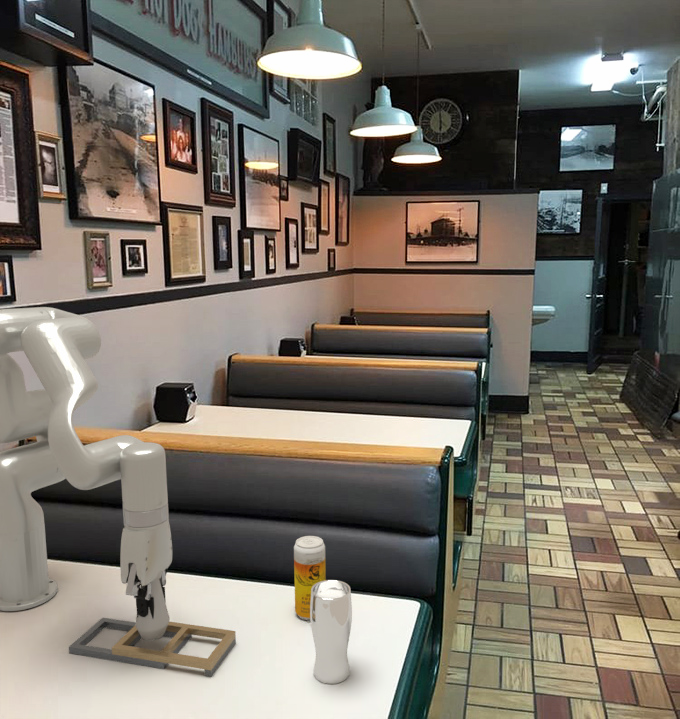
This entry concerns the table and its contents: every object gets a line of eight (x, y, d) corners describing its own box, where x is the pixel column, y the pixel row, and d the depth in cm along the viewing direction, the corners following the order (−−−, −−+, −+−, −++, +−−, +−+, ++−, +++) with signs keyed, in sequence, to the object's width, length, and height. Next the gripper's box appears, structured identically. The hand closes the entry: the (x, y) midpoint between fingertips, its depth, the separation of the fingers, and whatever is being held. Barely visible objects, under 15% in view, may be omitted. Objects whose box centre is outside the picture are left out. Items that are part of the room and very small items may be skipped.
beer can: (302, 625, 123) (301, 550, 121) (290, 610, 128) (288, 538, 126) (331, 616, 126) (330, 544, 123) (317, 602, 131) (316, 532, 129)
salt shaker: (174, 626, 118) (171, 558, 116) (163, 644, 112) (159, 573, 110) (143, 624, 118) (140, 557, 116) (130, 642, 113) (126, 572, 111)
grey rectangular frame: (69, 653, 114) (68, 646, 114) (103, 623, 124) (102, 617, 124) (164, 669, 110) (163, 662, 109) (191, 636, 119) (191, 630, 119)
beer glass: (338, 691, 104) (337, 604, 101) (302, 677, 107) (301, 592, 105) (359, 668, 109) (359, 585, 107) (325, 655, 113) (324, 575, 111)
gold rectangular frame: (112, 660, 112) (111, 647, 112) (143, 629, 122) (143, 617, 121) (211, 677, 107) (210, 663, 107) (235, 643, 117) (235, 631, 117)
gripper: (151, 496, 121) (157, 588, 123) (98, 530, 105) (105, 635, 108) (188, 499, 119) (192, 593, 122) (139, 535, 103) (145, 641, 106)
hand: (151, 611), depth 115 cm, fingers closed on salt shaker, 3 cm apart
